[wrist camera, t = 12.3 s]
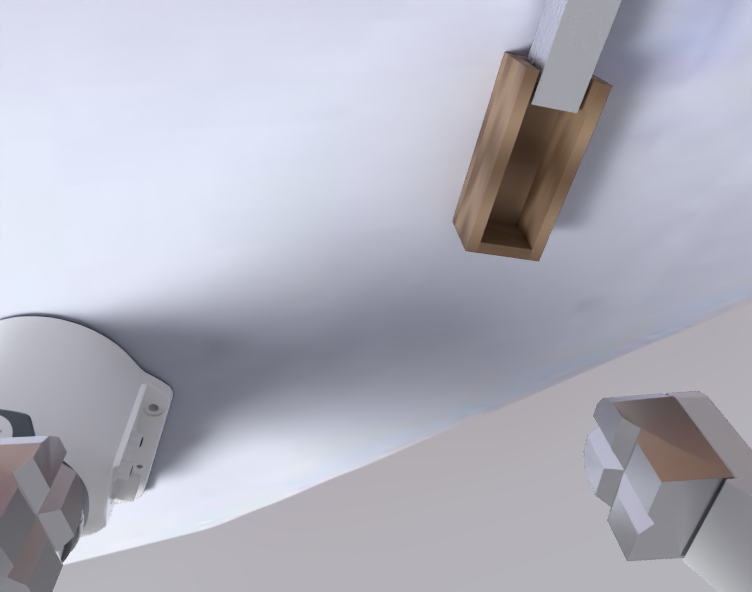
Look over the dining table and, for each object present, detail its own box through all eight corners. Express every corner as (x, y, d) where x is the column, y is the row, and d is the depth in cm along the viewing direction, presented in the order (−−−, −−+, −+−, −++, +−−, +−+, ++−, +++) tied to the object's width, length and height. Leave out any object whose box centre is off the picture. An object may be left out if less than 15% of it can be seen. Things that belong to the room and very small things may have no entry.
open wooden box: (519, 231, 43) (538, 261, 39) (452, 221, 42) (465, 250, 38) (582, 68, 36) (612, 85, 33) (504, 52, 35) (526, 67, 32)
